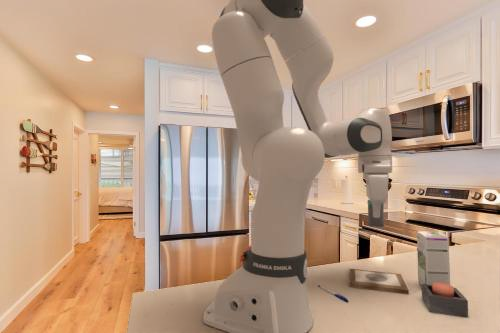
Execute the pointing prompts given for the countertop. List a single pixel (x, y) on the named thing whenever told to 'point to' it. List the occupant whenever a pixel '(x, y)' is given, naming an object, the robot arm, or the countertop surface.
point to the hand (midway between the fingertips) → (375, 215)
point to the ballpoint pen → (334, 294)
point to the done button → (442, 289)
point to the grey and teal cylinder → (375, 221)
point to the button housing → (445, 302)
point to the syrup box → (433, 258)
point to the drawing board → (378, 281)
